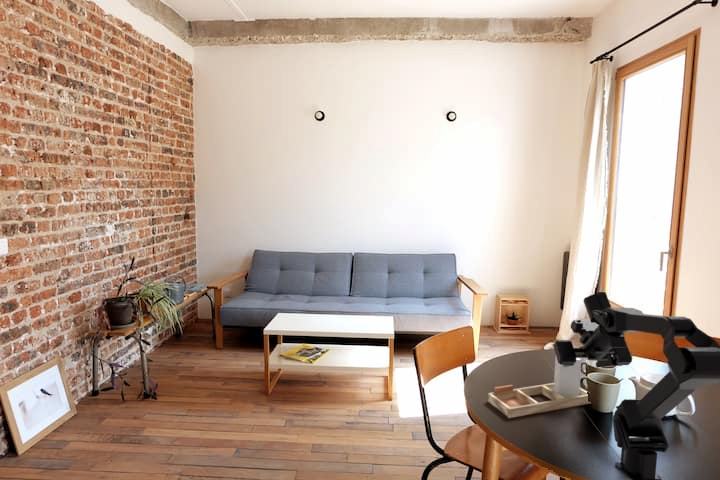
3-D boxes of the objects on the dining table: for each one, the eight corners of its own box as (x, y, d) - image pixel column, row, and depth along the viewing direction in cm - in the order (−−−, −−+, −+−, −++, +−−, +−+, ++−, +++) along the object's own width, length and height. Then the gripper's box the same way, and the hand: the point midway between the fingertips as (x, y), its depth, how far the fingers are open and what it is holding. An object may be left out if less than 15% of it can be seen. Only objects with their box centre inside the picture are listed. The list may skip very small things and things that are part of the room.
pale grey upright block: (578, 400, 133) (581, 359, 131) (558, 400, 133) (560, 359, 131) (573, 395, 136) (575, 355, 135) (553, 395, 136) (555, 355, 135)
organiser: (592, 403, 131) (593, 389, 131) (509, 418, 122) (509, 404, 122) (566, 388, 141) (567, 376, 140) (487, 401, 132) (488, 388, 131)
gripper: (628, 311, 118) (603, 339, 130) (557, 311, 118) (539, 339, 130) (645, 351, 111) (617, 376, 123) (570, 350, 111) (549, 376, 123)
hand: (580, 365), depth 125 cm, fingers open, 9 cm apart
